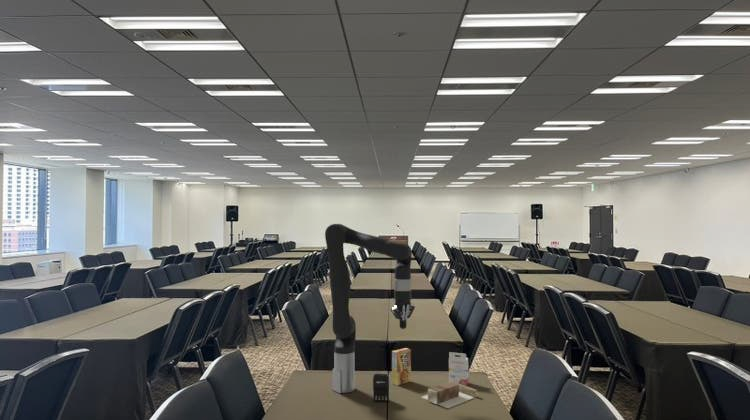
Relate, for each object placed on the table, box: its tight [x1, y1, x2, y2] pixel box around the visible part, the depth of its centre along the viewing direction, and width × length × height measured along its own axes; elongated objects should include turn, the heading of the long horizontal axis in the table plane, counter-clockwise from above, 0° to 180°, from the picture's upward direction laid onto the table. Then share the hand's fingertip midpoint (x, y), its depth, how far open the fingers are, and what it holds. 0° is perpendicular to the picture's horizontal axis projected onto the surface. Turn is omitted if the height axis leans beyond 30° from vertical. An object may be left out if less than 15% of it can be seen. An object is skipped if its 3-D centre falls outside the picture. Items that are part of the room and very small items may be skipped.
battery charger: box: [372, 372, 390, 403], centre depth 198 cm, size 7×4×11 cm, turn 86°
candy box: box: [391, 347, 412, 386], centre depth 221 cm, size 9×4×15 cm, turn 129°
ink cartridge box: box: [448, 351, 470, 387], centre depth 219 cm, size 9×5×15 cm, turn 68°
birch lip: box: [448, 380, 478, 399], centre depth 207 cm, size 2×15×3 cm, turn 39°
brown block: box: [427, 381, 459, 405], centre depth 199 cm, size 5×5×14 cm
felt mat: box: [421, 392, 475, 409], centre depth 201 cm, size 17×15×1 cm
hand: (403, 328), depth 205 cm, fingers closed
